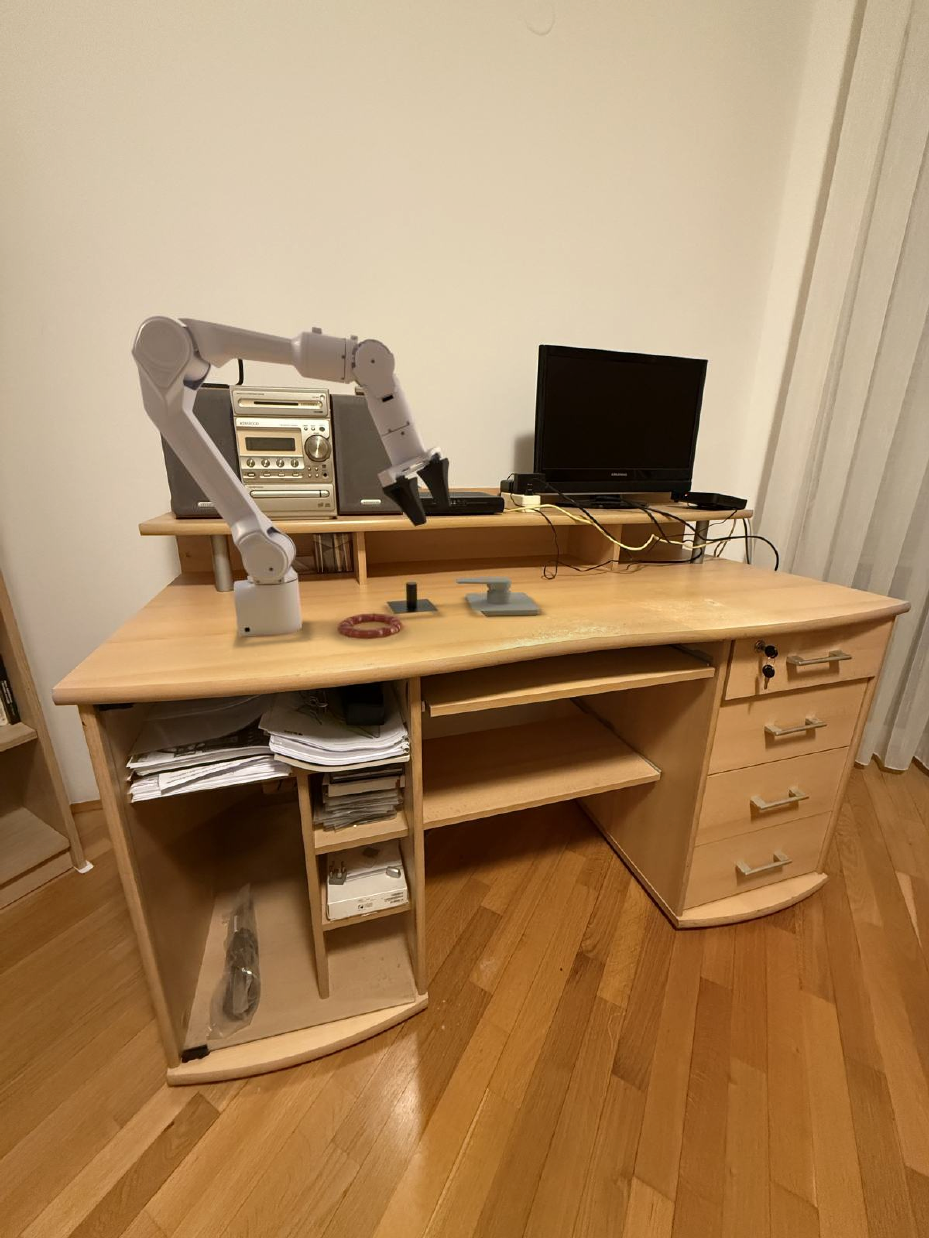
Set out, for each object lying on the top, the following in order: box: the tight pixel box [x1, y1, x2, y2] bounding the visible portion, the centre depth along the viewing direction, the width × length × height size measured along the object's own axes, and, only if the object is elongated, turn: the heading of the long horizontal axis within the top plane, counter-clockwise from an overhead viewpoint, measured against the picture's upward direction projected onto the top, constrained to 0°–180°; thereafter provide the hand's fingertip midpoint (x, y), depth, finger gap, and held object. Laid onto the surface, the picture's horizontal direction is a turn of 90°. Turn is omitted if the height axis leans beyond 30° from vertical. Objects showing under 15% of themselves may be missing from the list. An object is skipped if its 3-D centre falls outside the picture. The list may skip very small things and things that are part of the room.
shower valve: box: [455, 576, 540, 617], centre depth 94 cm, size 12×6×15 cm
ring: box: [337, 612, 404, 640], centre depth 78 cm, size 10×10×2 cm
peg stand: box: [386, 581, 439, 615], centre depth 90 cm, size 8×8×5 cm
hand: (433, 515), depth 77 cm, fingers open, 7 cm apart
